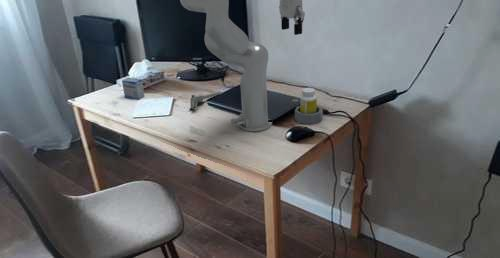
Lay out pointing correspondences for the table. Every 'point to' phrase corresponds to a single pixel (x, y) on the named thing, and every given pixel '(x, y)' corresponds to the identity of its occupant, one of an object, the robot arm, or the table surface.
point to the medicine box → (133, 88)
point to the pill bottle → (308, 101)
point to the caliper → (200, 98)
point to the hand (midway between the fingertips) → (291, 31)
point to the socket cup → (309, 116)
